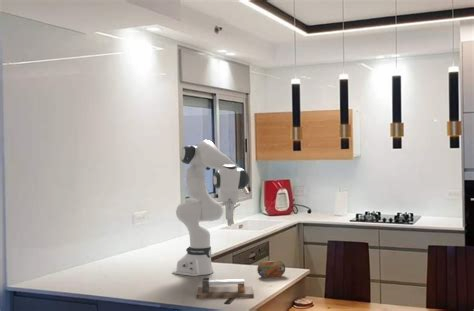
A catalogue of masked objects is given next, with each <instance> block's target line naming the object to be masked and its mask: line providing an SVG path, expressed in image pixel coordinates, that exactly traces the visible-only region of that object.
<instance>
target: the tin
mask: <svg viewBox="0 0 474 311" xmlns="http://www.w3.org/2000/svg"><path fill="white" fill-rule="evenodd" d="M256 269H257V271H256V272H257V274H258V275H259V276H260V277H261V278H263V279H267V278H268V279H269V277H270V279H271V278H279V277H282V276H283V275H284V274H285V272H286V265H285V263H283V262H282V261H281V260H268V261H261V262H260V263H259V264H258V266H257V268H256Z"/></svg>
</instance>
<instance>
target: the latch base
mask: <svg viewBox="0 0 474 311" xmlns="http://www.w3.org/2000/svg"><path fill="white" fill-rule="evenodd" d="M209 280H210V276H209V277H208V276H207V277H202V280H201V282H202V283H201V285H202V286H199V287H197V290H196V299H235V298H237V299H239V298H240V297H249V298H254V289H253V286H252V285H251V286H250V285H248V286H245V283H244V284H237V286H210V285H209Z"/></svg>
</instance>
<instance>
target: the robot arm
mask: <svg viewBox="0 0 474 311" xmlns="http://www.w3.org/2000/svg"><path fill="white" fill-rule="evenodd" d="M179 157H180V161H181V162H182V163H183V164H186V165H189V166H188V167H187V169H186V174H185V177H186V178H185V179H186V180H185V182H186V190H187V195H188V198H190V199H191V200H194V201H187V202H182V203H179V204H178V206H177V207H176V209H175V212H176V213H175V214H176V217H177V220H179V221H180V222H181V223H183V225H185V227H186V229H187V230H188V235H189V246H188V247H187V248H186V249H185V252H186V254H185V255H184V256H182V257H181V258H179V259H178V261H177V263H176V268H174V269H172V274H174V275H181V276H182V275H183V276H190V277H191V276H192V277H197V276H203V275H204V276H205V275H211V274H213V273H214V269H213V264H212V258H211V257H212V247H211V234H210V233H211V232H210V231H209V230H208V229H207V228H204V227H202V226H200V224H199V222H200V223H202V222H203V223H204V222H213V221H218V220H220V219H221V218H222V216H223V213H224V208H223V206H222V204H223V205H225V219H226V220H227V226H229V227H231V226H233V224H232V223H233V222H232V221H233V220H234V212H235V206H236V205H237V202H239V199H240V197H239V194H240V193H239V192H240V191H239V190H243V189H245V188H246V187H247V186H248V185H249V182H250V176H249V173H248V172H247V171H246V170H245V169H243V168H242V167H240V166H239V164H238V163H237V162H235V160H234V159H232V157H230V156H229V155H227V154H225V153H223V152H221V151H220V149H219V148H218V147H217V146H216V144H214V142H213V141H211V140H209V139H208V140H207V139H204V140H202V141H200V142H199V144H198V145H197V146H196V145H185V146H183V147H182V148H181V152H180V156H179ZM211 169H213V170H216V169H218V170H216V171H215V172H214V173H213V175H212V185H213V186H214V187H215V188H216V189H218V190H220V201H221V202H223V203H222V204H221V203H220V202H219V201H217V200H215V199H214V198H213V197H212V196H211V195H210V193H209V192H208V191H209V190H208V187H207V181H206V176H205V171H210V170H211Z"/></svg>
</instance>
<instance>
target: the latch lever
mask: <svg viewBox="0 0 474 311" xmlns="http://www.w3.org/2000/svg"><path fill="white" fill-rule="evenodd" d="M238 284H244V285H245V278H235V279H233V278H231V279H209V286H210V285H212V286H213V285H238Z"/></svg>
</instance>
